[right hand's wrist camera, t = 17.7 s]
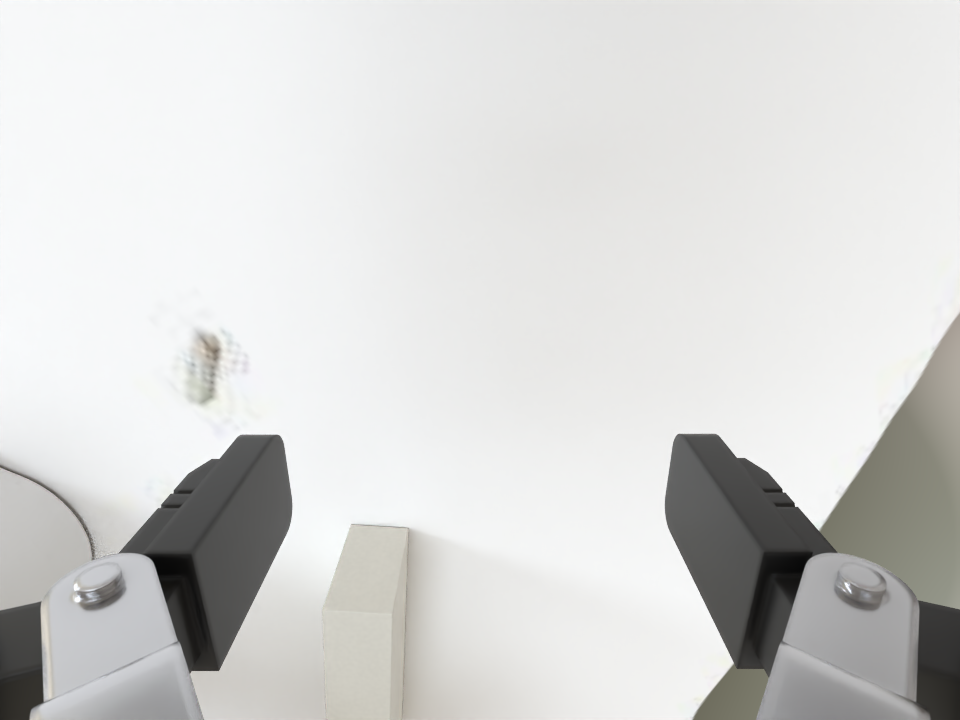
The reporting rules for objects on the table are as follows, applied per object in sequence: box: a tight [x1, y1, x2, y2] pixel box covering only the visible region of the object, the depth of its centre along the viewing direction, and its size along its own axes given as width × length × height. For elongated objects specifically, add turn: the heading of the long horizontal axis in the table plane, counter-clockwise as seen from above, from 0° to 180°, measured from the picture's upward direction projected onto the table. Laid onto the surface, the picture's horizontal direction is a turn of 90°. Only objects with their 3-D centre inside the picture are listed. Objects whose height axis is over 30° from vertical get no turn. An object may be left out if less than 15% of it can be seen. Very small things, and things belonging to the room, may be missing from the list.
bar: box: [322, 525, 409, 720], centre depth 47 cm, size 23×5×9 cm, turn 176°
